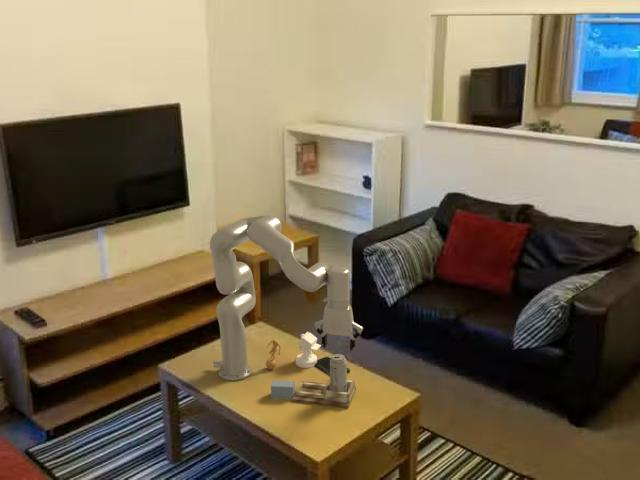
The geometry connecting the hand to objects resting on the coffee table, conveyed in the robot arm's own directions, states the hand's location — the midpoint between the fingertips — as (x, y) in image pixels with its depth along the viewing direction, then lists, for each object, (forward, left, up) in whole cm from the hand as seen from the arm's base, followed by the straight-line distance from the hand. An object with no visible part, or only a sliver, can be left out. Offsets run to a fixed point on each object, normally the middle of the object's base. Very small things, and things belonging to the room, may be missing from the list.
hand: (338, 347), depth 248 cm
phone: (-8, +20, -20) cm, 30 cm away
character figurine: (-18, +22, -20) cm, 35 cm away
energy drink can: (0, 0, -19) cm, 19 cm away
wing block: (-20, -4, -20) cm, 28 cm away
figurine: (-30, +15, -20) cm, 39 cm away
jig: (-5, 0, -20) cm, 21 cm away
